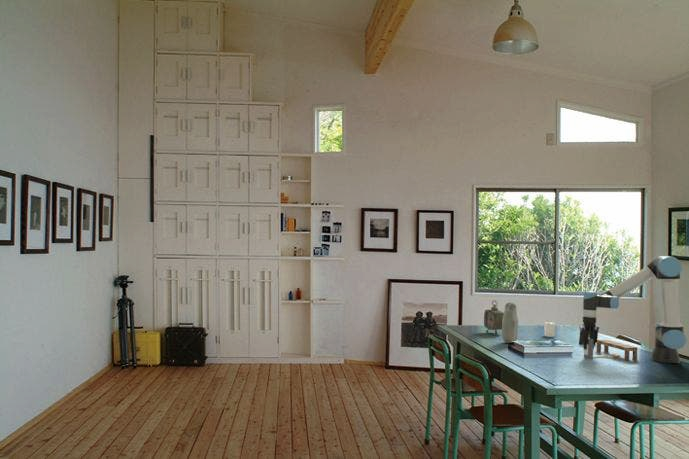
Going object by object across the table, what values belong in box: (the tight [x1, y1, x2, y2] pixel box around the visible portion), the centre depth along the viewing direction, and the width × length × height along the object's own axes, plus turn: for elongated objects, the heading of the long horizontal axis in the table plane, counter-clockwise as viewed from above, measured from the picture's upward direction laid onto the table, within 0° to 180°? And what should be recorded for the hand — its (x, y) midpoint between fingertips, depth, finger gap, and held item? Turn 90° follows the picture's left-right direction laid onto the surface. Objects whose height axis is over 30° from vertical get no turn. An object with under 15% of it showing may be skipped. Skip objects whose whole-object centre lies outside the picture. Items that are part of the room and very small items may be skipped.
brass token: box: [611, 353, 621, 358], centre depth 325 cm, size 4×4×1 cm
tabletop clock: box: [483, 300, 504, 336], centre depth 390 cm, size 14×9×25 cm, turn 17°
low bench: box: [595, 339, 638, 362], centre depth 325 cm, size 24×8×8 cm, turn 18°
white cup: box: [543, 321, 557, 338], centre depth 387 cm, size 8×8×10 cm
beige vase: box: [501, 302, 519, 344], centre depth 355 cm, size 10×10×28 cm
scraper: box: [583, 338, 614, 360], centre depth 321 cm, size 18×6×12 cm, turn 108°
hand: (588, 354), depth 319 cm, fingers closed on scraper, 3 cm apart
